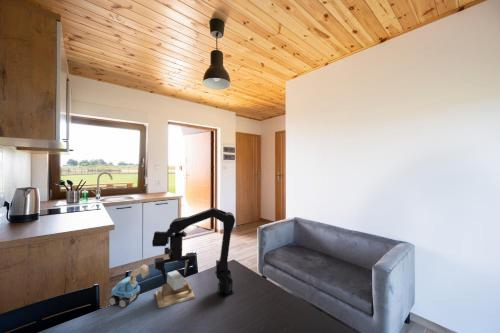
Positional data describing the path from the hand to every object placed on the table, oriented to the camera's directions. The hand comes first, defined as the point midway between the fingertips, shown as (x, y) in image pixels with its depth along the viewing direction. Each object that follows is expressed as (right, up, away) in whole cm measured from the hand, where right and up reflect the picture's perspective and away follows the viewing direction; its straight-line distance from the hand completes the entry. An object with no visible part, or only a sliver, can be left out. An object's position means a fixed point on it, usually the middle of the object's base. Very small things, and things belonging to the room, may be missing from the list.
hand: (175, 277), depth 103 cm
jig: (0, -9, 0) cm, 9 cm away
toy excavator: (-19, -9, -6) cm, 21 cm away
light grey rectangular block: (0, -3, 0) cm, 3 cm away
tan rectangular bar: (0, -8, 0) cm, 8 cm away
